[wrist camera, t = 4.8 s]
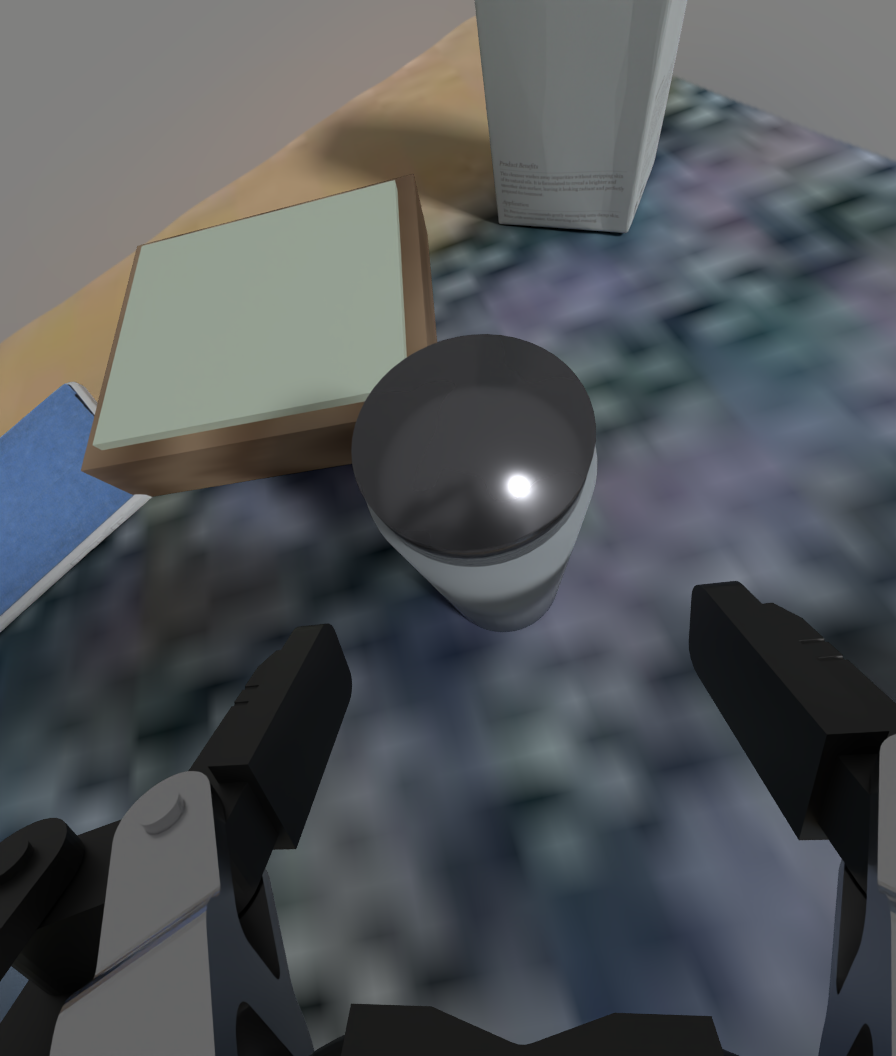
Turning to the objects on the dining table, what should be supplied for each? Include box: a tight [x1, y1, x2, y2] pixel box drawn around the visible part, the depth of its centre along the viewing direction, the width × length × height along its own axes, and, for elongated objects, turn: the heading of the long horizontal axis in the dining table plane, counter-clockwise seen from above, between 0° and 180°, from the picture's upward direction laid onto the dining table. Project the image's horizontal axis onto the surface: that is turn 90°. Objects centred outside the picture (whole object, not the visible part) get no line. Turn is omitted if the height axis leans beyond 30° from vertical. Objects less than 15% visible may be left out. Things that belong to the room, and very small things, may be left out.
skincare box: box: [475, 0, 687, 233], centre depth 19 cm, size 8×6×15 cm
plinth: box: [81, 174, 437, 497], centre depth 24 cm, size 18×16×4 cm
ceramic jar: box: [351, 334, 597, 632], centre depth 13 cm, size 5×5×12 cm
